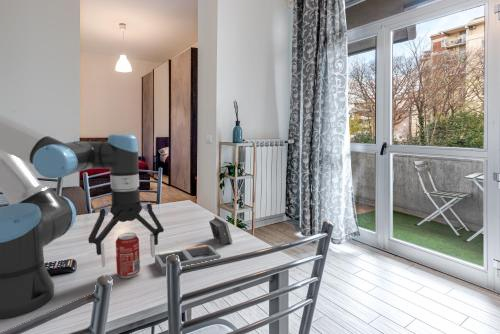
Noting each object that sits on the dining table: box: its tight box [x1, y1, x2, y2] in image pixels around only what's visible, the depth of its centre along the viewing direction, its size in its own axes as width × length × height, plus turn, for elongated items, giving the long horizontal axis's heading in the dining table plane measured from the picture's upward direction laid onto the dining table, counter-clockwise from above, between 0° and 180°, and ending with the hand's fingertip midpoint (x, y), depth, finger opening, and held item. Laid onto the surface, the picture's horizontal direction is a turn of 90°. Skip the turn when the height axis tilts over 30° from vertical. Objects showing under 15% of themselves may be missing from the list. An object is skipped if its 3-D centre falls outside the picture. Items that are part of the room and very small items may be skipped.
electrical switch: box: [209, 215, 233, 246], centre depth 118 cm, size 9×5×9 cm, turn 32°
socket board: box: [154, 244, 221, 276], centre depth 100 cm, size 19×9×3 cm, turn 118°
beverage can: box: [115, 232, 141, 279], centre depth 91 cm, size 6×6×12 cm
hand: (128, 260), depth 91 cm, fingers open, 13 cm apart
